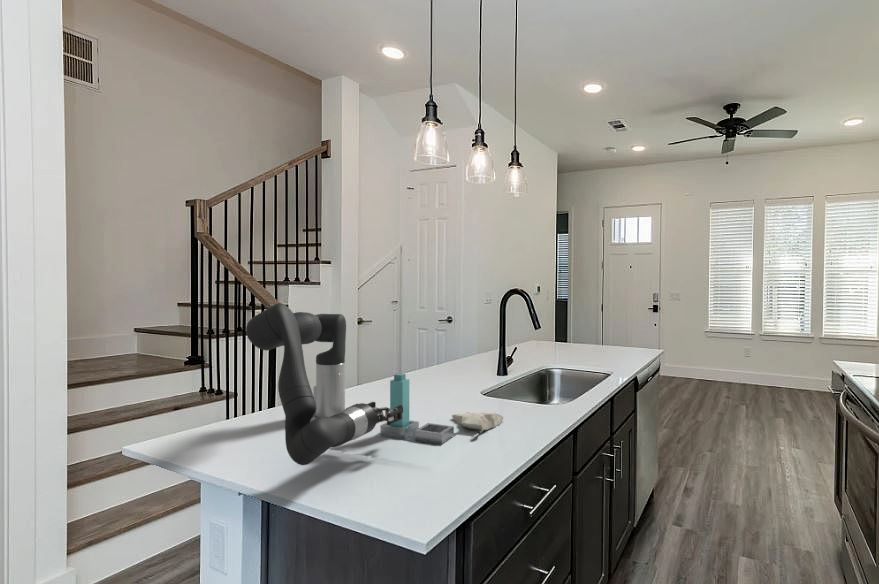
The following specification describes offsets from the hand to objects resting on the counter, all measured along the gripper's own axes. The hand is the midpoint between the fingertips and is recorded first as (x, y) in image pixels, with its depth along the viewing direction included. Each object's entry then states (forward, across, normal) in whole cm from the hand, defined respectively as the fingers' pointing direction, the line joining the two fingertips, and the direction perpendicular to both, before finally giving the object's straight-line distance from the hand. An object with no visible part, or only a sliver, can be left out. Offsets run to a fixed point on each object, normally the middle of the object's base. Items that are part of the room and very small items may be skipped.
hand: (387, 407), depth 142 cm
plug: (+7, 0, +9) cm, 11 cm away
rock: (+25, -15, +10) cm, 31 cm away
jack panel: (+7, -6, +10) cm, 13 cm away
